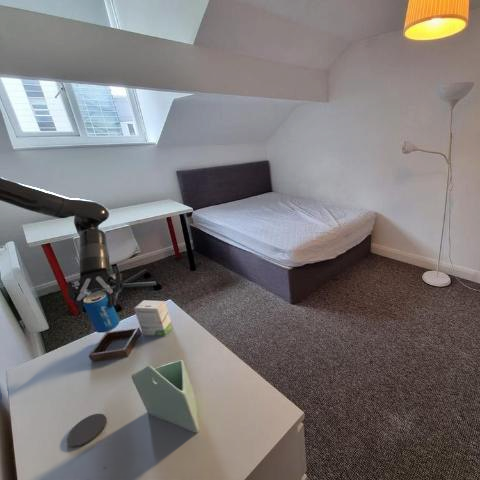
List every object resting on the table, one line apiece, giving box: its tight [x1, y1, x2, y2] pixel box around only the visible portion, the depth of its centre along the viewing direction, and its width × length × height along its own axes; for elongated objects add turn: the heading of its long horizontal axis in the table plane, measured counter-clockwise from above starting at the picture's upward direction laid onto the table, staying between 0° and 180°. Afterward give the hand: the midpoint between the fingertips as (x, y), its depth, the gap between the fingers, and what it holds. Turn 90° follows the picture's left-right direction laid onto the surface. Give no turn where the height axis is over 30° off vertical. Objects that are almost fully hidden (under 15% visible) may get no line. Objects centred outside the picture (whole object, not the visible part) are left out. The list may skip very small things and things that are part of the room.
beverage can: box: [83, 291, 121, 334], centre depth 85 cm, size 6×6×12 cm
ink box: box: [133, 299, 173, 337], centre depth 95 cm, size 9×5×12 cm, turn 86°
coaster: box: [66, 413, 108, 448], centre depth 66 cm, size 8×8×1 cm
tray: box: [88, 326, 143, 363], centre depth 90 cm, size 11×11×3 cm
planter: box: [131, 359, 200, 434], centre depth 67 cm, size 16×8×20 cm, turn 71°
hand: (97, 309), depth 83 cm, fingers closed on beverage can, 6 cm apart
